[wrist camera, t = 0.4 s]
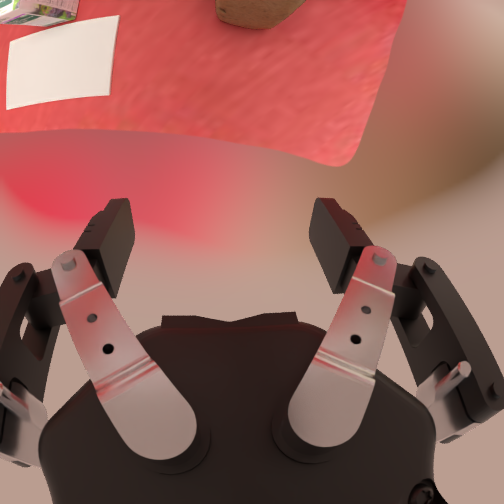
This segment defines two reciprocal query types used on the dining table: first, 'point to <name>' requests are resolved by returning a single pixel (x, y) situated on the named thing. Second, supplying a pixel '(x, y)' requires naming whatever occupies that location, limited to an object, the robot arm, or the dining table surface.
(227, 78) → the dining table surface
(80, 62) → the mat
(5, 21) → the syrup box
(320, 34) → the dining table surface
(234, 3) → the block
